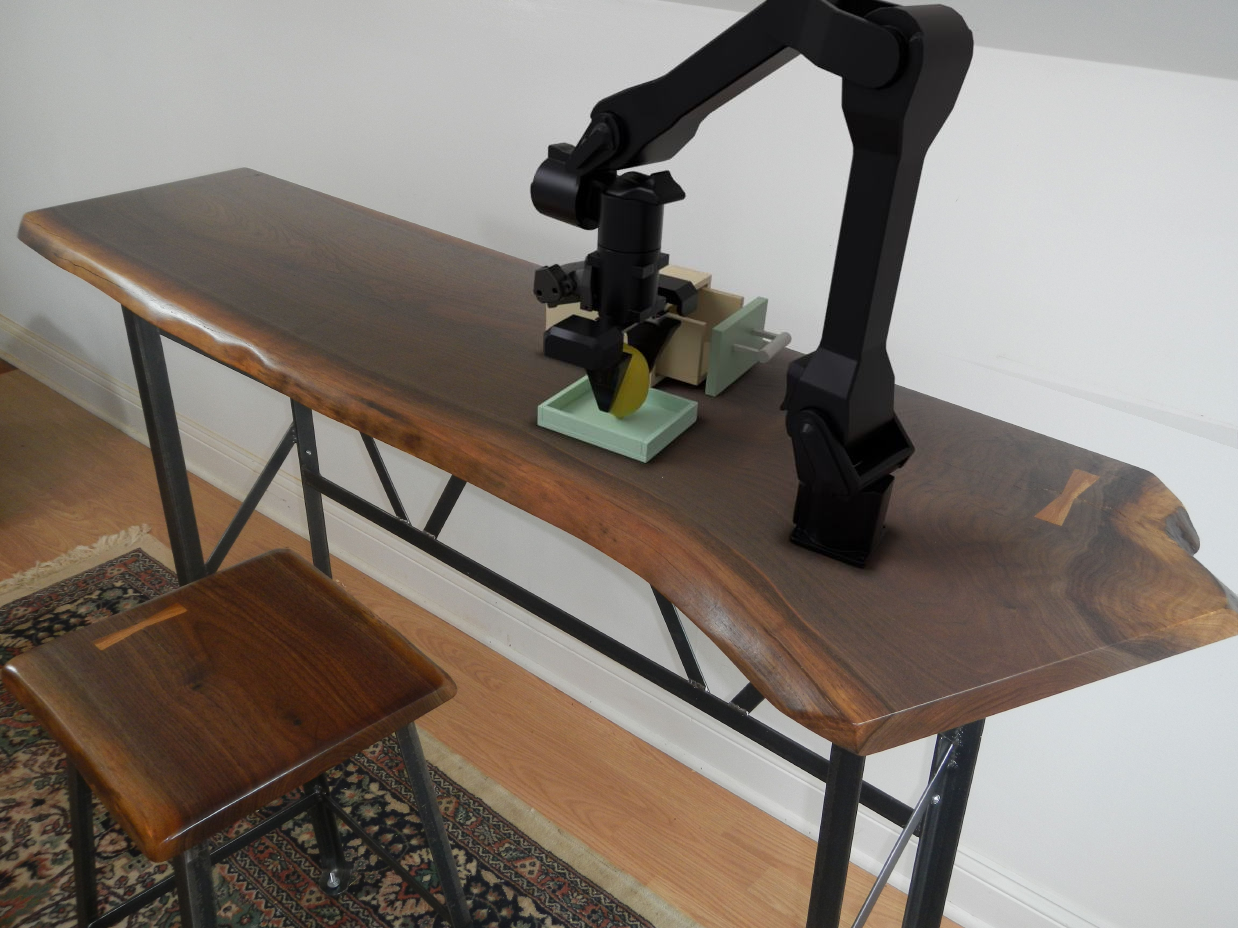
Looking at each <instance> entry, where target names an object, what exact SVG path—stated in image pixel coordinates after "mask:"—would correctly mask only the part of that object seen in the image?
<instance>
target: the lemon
mask: <svg viewBox="0 0 1238 928" xmlns="http://www.w3.org/2000/svg"><path fill="white" fill-rule="evenodd" d="M623 351H624V352H627V353H631V354H633V356H632V359H631V361H630V364H629V366H628V369H627V371H626V374H625V377H624V379H623V382H622V384H621V387H620V390H619V392H618V395H617V397H616V400H615V402H614V404H613V406H612V409H611V411H610V412H609V414H612V415H614V416H615V417H616V418H617V419H621V418H623V417H624V416H625V415H629V414H632V413H634V412H635V411H637V410H638V409H639V408H640V407H641V406H642V405H643V403H644V402H645V400H646V398H647V395H648V391H649V385H650V374H649V368H648V364H647V362H646V360H645V358H644V356H643V355H642V354H641V353H640V352H639V351H638V350H637V349H636V348H634V347H632V346H629V345H627V343H623Z"/></svg>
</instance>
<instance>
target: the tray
mask: <svg viewBox="0 0 1238 928" xmlns="http://www.w3.org/2000/svg"><path fill="white" fill-rule="evenodd" d="M698 407H699V402H698V401H695V400H692V399H688V398H685V397H682V396H680V395H676V394H672V393H669V392H667V391H663V390H659V389H657V388H653V387H651V388H650V387H649V391H648V395H647V398H646V400H645V402H644V403H643V405H642V406H641V407H640V408H639V409H638V410H637V411H635V412H634V413H632V414H629V415H625V416H624V417H623V418H621V419H617V418H616V417H615V416H614V415H612V414H609V413H605V412H602V411H600V410H599V409H598V406H597V403H596V400H595V397H594V394H593V391H592V388H591V385H590V382H589V379H588V376H587V374H586V375H584V376H583V377H581V378H579V379H578V380H577V381H575V382H573V383H572V384H570V385H569V386H567V387H566V388H564V389H562V390H560V391H559V392H558V393H556V394H555V395H553V396H551V397H549V398H548V399H547V400H545V401H544V402H542V403H541V404H538V406H537V426H540V427H542V428H545V429H548V430H551V431H554V432H557V433H560V434H563V435H565V436H567V437H571V438H573V439H576V440H579V441H582V442H585V443H588V444H590V445H593V446H596V447H599V448H601V449H605V450H608V451H611V452H614V453H617V454H619V455H622V456H625V457H628V458H630V459H633V460H636V461H639V462H642V463H645V464H646V463H648V462H649V461H650V460H652V459H653V458H654V457H655V456H656V455H657V454H659V453H660V452H661V451H662V450H663V449H665V448H666V447H667V446H668V445H669V444H671V443H672V442H673V441H674V440H675V439H676V438H678V437H679V436H680V435H681V434H683V433H684V432H685V431H686V430H687V429H688V428H690V427H691V426H692V425H693V424H695V423H696V422H697V418H698V417H697V416H698Z"/></svg>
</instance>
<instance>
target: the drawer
mask: <svg viewBox="0 0 1238 928" xmlns="http://www.w3.org/2000/svg"><path fill="white" fill-rule="evenodd" d="M697 291H698V301H697V310H695V311H694V312H692V313H691V314H689V315H688V316H686V317H681V316H679V315H678V313H677V311H676V308H677V305H671V306H670V307H668V308H667V310H669V311H670V313H669V317H671V318H675V319H679V320H681V322H682V323H681V326H680V327H679V328H678V329H677V330H676V332H675V333H674V335H673V337H672V338H671V340H670V341H669V343H668V345H667V346H666V348H665V349H664V351H663V353H662V354H661V356H660V358H659V359H658V361H657V363H656V368H655V373H657V374H661V375H664V376H666V377H667V378H671V379H674V380H678V381H680V382H684V383H687V384H691V385H693V386H698V385H700V384H701V383H702V382H703V381H705V380H706V382H705V392H704V394H705V395H708V396H710V397H713V398H715V397H716V396H718V395H719V394H720V393H722V392H723V391H724V390H726V388H728V387H729V386H730V385H731V384H733V383H734V382H735V381H737V380H738V379H739V378H740V377H741V376H742V375H744V373H746V372H747V371H748V370H750V369H751V368H752V367H754V365H756V364H757V363H758V362H759V363H760V364H767V363H768V362H770V361H771V360H772V359H773V358H774V357H775V356H777V355H778V354H779V353H780V352H781V351H782V350H784V349H785V348H786V347H787V346H788V345H790V344H791V342H792V341H793V340H792V338H793V337H792V335H791V334H790V333H789V332H787V331H782V332H780V333H779V334H778V333H775V332H771V331H767V330H765V325H766V319H767V312H768V304H769V298H767V297H764V296H763V297H762V296H757V297H755V298H754V299H752V300H751V301H749V302H748V303H747V304H745V297H744V296H743V295H739V294H734V293H730V292H726V291H723V290H719V289H715V288H707V287H703V286H702V287H701V288H699V289H698V290H697ZM744 304H745V305H744ZM763 339H766V340H769V342H768V343H767V344H766V345H765V346H763Z"/></svg>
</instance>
